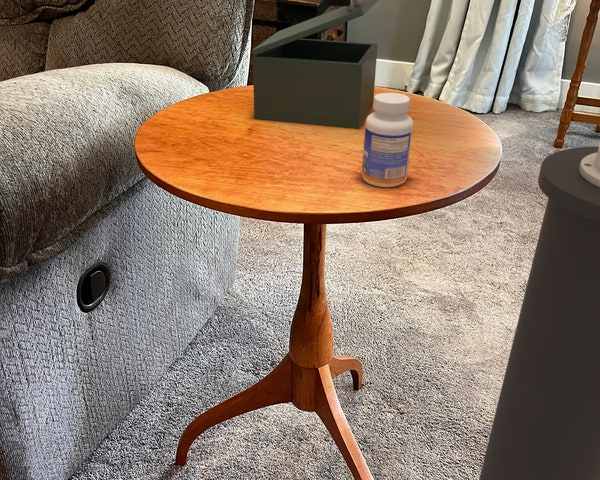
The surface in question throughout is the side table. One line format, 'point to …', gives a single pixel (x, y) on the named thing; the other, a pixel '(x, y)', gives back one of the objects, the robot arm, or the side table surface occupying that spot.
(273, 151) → the side table surface
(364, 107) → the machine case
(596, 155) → the robot arm
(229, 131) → the side table surface
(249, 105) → the side table surface
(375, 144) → the pill bottle
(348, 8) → the case lid
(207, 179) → the side table surface
